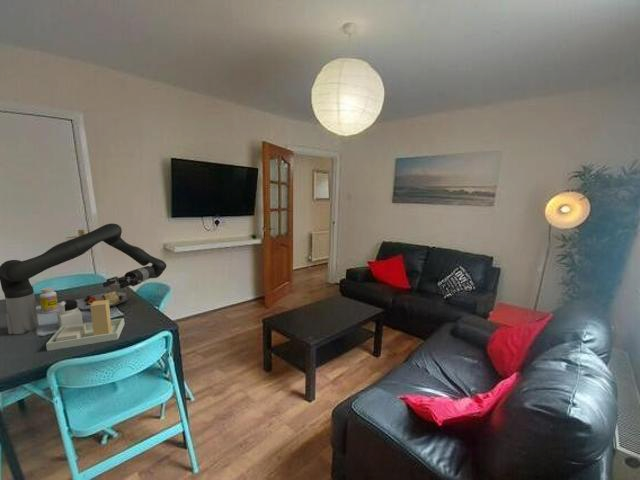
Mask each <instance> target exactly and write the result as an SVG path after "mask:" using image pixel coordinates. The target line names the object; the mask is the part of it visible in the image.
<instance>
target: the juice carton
mask: <svg viewBox="0 0 640 480" xmlns="http://www.w3.org/2000/svg"><path fill="white" fill-rule="evenodd" d="M89 308H90V309H89V310H90V315H91V316H90V317H91V323H92V326H93V334H94V336H96V335H103V334H109V333H111V331H112V327H111V320H112V319H111V309H110V306H109V300H102V301H94V302H93V303H92V304H91V305H90V306H89Z"/></svg>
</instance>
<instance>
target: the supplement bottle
mask: <svg viewBox="0 0 640 480" xmlns="http://www.w3.org/2000/svg"><path fill="white" fill-rule="evenodd" d="M40 291H41V293H40V294H39V303H40V310H41V313H43V314H51V313H55V312H58V310H59V303H58V295H57V292H56V291H54V287H53V286H48V287H47V286H46V287H43V288H40Z"/></svg>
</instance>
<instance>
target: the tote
mask: <svg viewBox="0 0 640 480" xmlns="http://www.w3.org/2000/svg"><path fill="white" fill-rule="evenodd" d="M125 324H126V323H125V318H122V317H121V318H117V319H116V318H115V319H111V327H112V331H111V333H109V334H103V335H96V336H94V334H93V326H92V322H85V325H86V333H85V334H84V336H83V337H82V338H76V339H70V340H63V341H57V342H56V337H57V336H58V335H59V334H60V333H61V331H62V330H63V329H64V328H65V327H66V326H63V327H59V329H58V330H56V332H55V333H54V334H53V335H52V336H51V337H50V339H49V340H48V341H47V342H46V344H45V347H46V351H47V352H48V351H54V350H61V349H68V348H72V347H78V346H79V347H80V346H85V345H91V344H92V345H93V344H98V343H105V342H111V341H117V340H119V338H120V335H121V334H122V330H123V328H124V326H125Z"/></svg>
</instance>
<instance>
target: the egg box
mask: <svg viewBox="0 0 640 480" xmlns="http://www.w3.org/2000/svg"><path fill="white" fill-rule="evenodd" d="M85 323H86V322H85ZM85 323H84V322H83V324H75V325H68V326H66V327H65V328H64V329H63V330H62V331H61V333H60V334H59V335H58V336H57V337H56V342H57V341H63V340H70V339H76V338H82V337H83V336H84V334H85V333H86V325H85Z"/></svg>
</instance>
